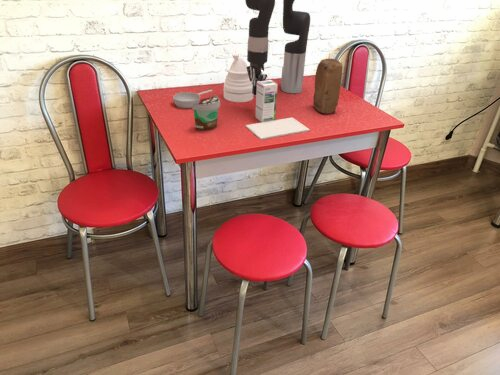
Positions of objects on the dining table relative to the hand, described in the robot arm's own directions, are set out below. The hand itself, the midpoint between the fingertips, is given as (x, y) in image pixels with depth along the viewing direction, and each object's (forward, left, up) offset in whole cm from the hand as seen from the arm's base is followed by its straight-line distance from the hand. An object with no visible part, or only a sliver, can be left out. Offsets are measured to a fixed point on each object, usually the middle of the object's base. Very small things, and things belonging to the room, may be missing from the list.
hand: (255, 94), depth 163 cm
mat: (+18, 0, -7) cm, 19 cm away
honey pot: (-18, +1, -7) cm, 19 cm away
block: (+8, +27, -7) cm, 29 cm away
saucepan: (-18, -19, -7) cm, 27 cm away
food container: (+7, -22, -7) cm, 24 cm away
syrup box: (+8, 0, -7) cm, 11 cm away
